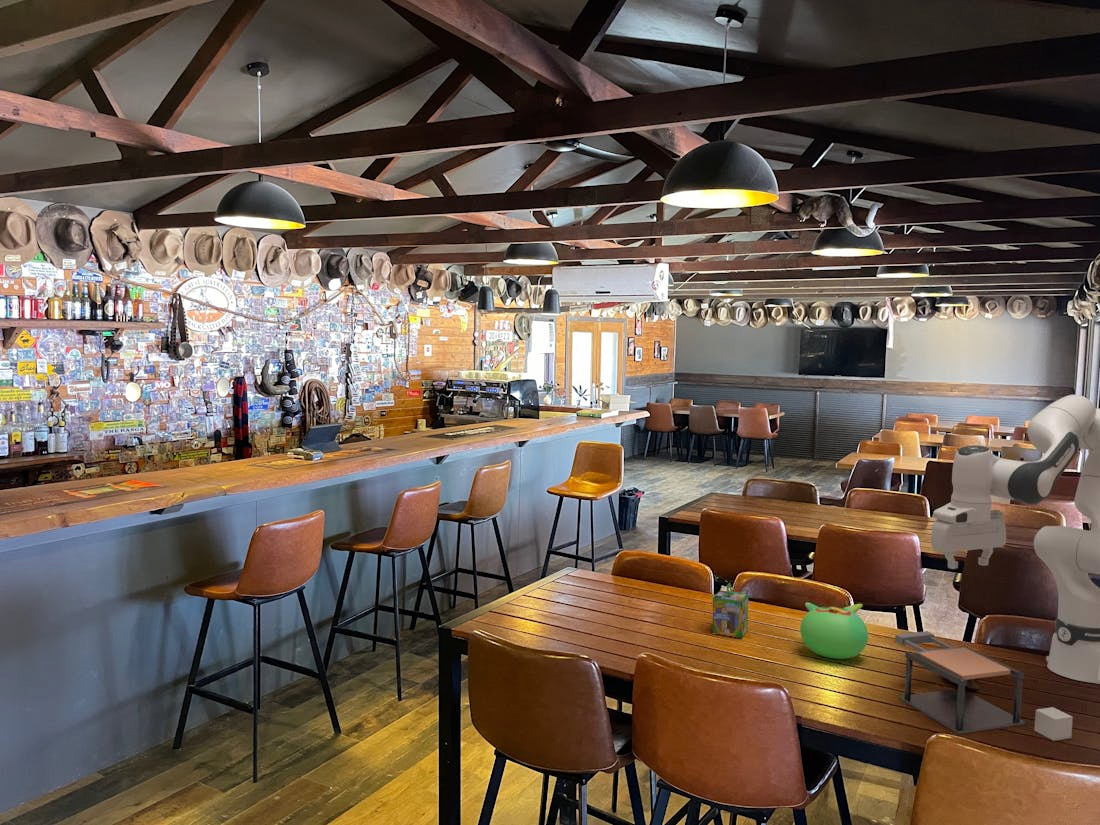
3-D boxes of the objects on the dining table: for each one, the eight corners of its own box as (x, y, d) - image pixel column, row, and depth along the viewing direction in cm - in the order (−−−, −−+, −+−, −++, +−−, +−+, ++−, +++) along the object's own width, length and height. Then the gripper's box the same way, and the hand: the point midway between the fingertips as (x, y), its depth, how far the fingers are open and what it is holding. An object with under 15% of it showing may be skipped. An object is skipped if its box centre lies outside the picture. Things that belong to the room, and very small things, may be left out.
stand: (899, 698, 197) (901, 651, 197) (961, 690, 203) (964, 644, 202) (958, 734, 179) (961, 682, 178) (1025, 724, 185) (1028, 674, 184)
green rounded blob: (797, 661, 220) (800, 609, 219) (800, 641, 236) (802, 592, 235) (867, 671, 214) (870, 618, 213) (866, 649, 230) (868, 600, 229)
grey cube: (1051, 728, 183) (1052, 707, 183) (1071, 738, 179) (1072, 716, 178) (1034, 730, 182) (1035, 709, 182) (1053, 741, 177) (1055, 719, 177)
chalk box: (741, 639, 236) (743, 590, 235) (711, 634, 241) (712, 586, 239) (748, 630, 245) (750, 583, 244) (719, 625, 249) (720, 578, 248)
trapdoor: (887, 642, 205) (888, 635, 204) (933, 637, 209) (934, 630, 209) (961, 682, 182) (961, 673, 181) (1011, 676, 186) (1011, 667, 186)
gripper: (993, 506, 203) (990, 559, 204) (927, 511, 197) (925, 566, 198) (1014, 511, 197) (1011, 566, 198) (947, 517, 191) (945, 573, 192)
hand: (968, 566), depth 198 cm, fingers open, 8 cm apart
